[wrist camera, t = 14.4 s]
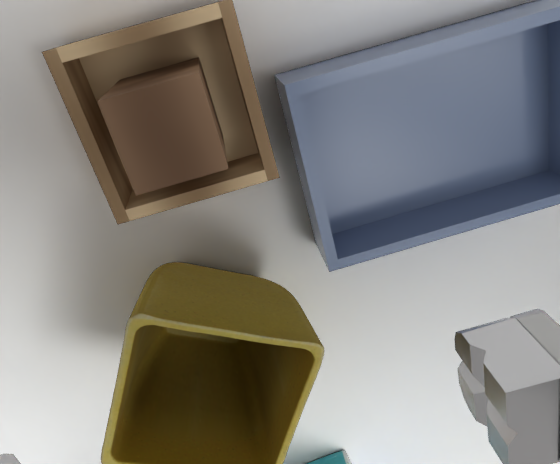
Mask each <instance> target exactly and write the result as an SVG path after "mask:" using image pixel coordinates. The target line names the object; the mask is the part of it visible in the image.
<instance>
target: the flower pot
mask: <svg viewBox="0 0 560 464" xmlns="http://www.w3.org/2000/svg"><path fill="white" fill-rule="evenodd" d="M323 356H324V347H323V345H322V344H321V342H320V340H319V338H318V336H317V335H316V333H315V331H314V329H313V327H312V326H311V324H310V322H309V320H308V319H307V317H306V315H305V313H304V312H303V310H302V308H301V306H300V305H299V303H298V302H297V300H296V299H295V298H294V296H293V295H292V294H291V293H290V292H289V291H287V290H286V289H285V288H283V287H282V286H280V285H278V284H276V283H274V282H272V281H269V280H266V279H263V278H260V277H256V276H252V275H246V274H240V273H235V272H230V271H224V270H219V269H214V268H209V267H204V266H199V265H194V264H189V263H180V262H172V263H167V264H164V265H162V266H160V267H158V268H157V269H156V270H155V271H154V272H153V273H152V274H151V275H150V277H149V278H148V280H147V282H146V284H145V286H144V288H143V290H142V292H141V294H140V296H139V298H138V300H137V303H136V305H135V307H134V309H133V311H132V314H131V316H130V318H129V320H128V322H127V325H126V330H125V336H124V342H123V348H122V353H121V358H120V364H119V369H118V375H117V380H116V384H115V389H114V394H113V399H112V404H111V409H110V414H109V419H108V424H107V429H106V433H105V439H104V443H103V447H102V453H101V463H102V464H283V462H284V460H285V457H286V454H287V451H288V448H289V445H290V443H291V440H292V438H293V435H294V432H295V429H296V427H297V424H298V421H299V419H300V416H301V414H302V411H303V409H304V406H305V403H306V401H307V398H308V396H309V394H310V391H311V389H312V386H313V384H314V381H315V379H316V376H317V373H318V371H319V369H320V366H321V363H322V360H323Z"/></svg>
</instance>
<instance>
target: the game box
mask: <svg viewBox="0 0 560 464" xmlns="http://www.w3.org/2000/svg"><path fill="white" fill-rule="evenodd" d="M307 464H351V462H350V459H349V457H348V455H347V453H346V451H339V452H336V453H333V454H330V455H328V456H325V457H323V458H320V459H317V460H315V461H312V462H309V463H307Z"/></svg>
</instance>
